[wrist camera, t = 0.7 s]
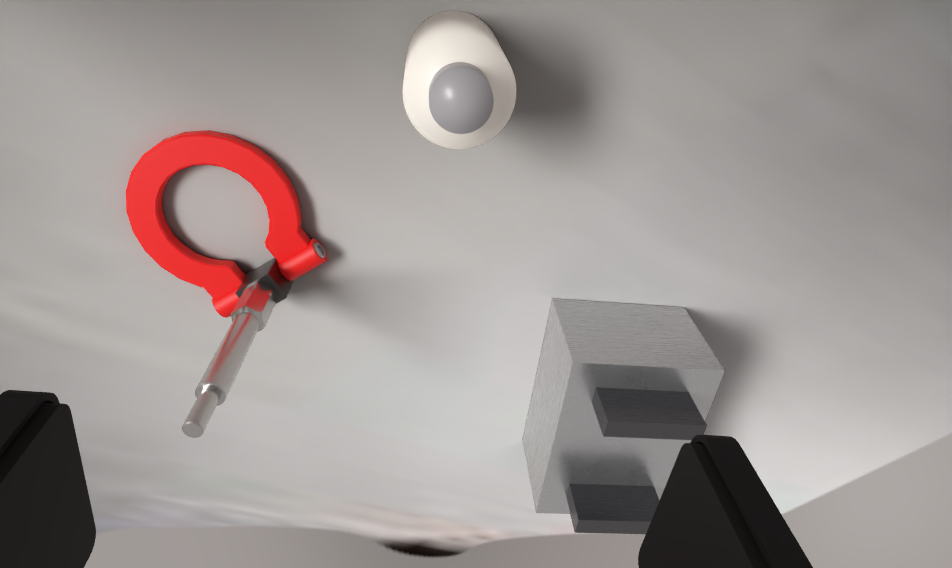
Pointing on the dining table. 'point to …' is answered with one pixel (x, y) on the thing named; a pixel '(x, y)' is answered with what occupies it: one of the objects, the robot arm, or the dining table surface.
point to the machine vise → (614, 410)
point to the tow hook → (223, 278)
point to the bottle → (457, 81)
